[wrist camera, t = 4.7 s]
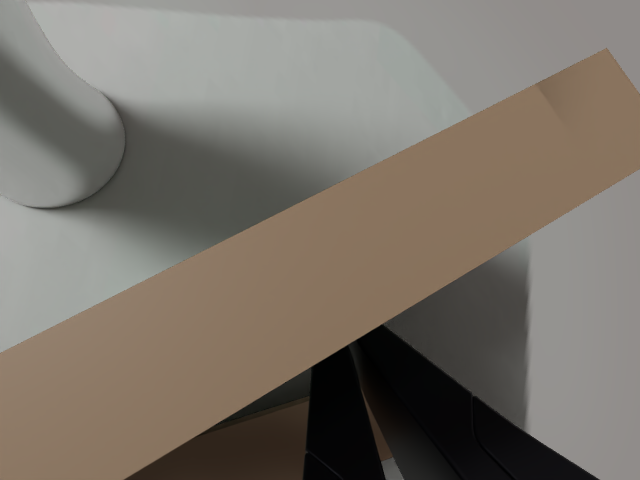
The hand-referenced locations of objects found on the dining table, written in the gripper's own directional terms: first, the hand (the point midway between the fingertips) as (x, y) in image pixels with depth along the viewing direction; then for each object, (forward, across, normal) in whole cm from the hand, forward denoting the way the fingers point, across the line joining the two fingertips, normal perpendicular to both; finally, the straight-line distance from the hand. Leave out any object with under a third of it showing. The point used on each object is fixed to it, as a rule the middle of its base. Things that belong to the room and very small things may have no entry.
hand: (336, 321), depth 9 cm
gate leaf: (+5, +3, +5) cm, 7 cm away
